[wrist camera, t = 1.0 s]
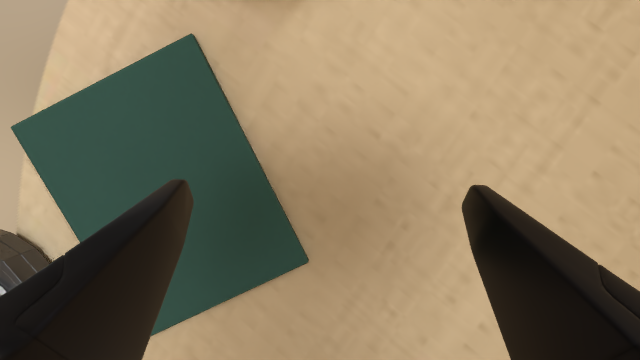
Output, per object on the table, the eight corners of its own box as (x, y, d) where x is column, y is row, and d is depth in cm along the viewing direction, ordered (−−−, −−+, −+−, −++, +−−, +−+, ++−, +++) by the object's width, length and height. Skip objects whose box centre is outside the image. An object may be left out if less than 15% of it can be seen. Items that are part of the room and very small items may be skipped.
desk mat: (308, 259, 25) (308, 262, 25) (143, 337, 26) (139, 341, 25) (194, 35, 23) (191, 32, 22) (17, 127, 24) (9, 126, 23)
